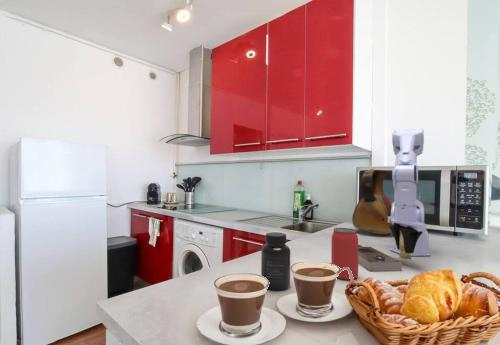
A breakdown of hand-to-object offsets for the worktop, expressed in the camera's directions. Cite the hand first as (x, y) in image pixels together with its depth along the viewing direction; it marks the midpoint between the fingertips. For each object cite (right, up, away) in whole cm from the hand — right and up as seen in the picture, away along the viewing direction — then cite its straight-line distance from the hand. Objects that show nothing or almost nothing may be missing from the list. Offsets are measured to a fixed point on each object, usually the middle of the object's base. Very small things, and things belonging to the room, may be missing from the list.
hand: (405, 251), depth 79 cm
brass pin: (0, -2, 0) cm, 2 cm away
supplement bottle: (-40, -4, -16) cm, 43 cm away
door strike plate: (-10, -4, +6) cm, 12 cm away
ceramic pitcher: (+13, -5, +46) cm, 48 cm away
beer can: (-21, -4, -10) cm, 24 cm away
